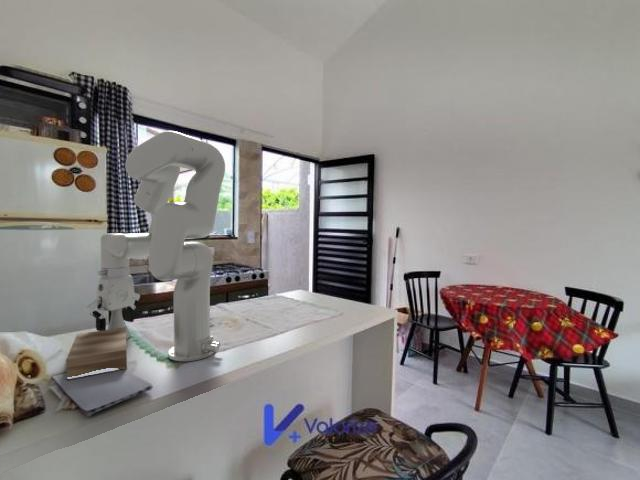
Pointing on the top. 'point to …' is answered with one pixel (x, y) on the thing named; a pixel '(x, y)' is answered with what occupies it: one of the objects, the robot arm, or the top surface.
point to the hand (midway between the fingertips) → (115, 325)
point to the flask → (118, 321)
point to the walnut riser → (97, 352)
